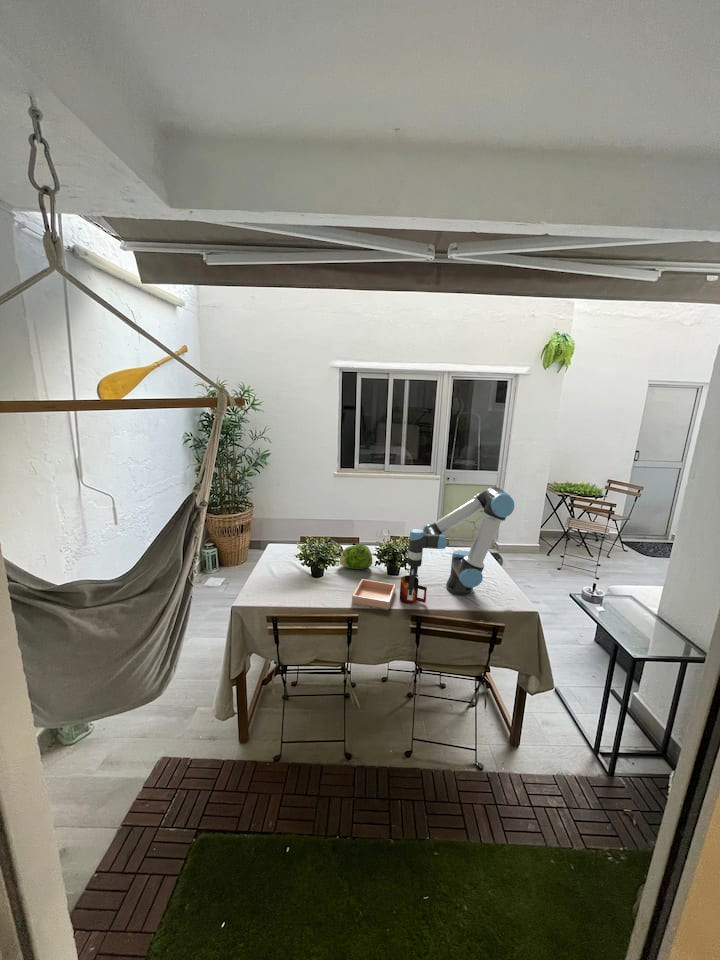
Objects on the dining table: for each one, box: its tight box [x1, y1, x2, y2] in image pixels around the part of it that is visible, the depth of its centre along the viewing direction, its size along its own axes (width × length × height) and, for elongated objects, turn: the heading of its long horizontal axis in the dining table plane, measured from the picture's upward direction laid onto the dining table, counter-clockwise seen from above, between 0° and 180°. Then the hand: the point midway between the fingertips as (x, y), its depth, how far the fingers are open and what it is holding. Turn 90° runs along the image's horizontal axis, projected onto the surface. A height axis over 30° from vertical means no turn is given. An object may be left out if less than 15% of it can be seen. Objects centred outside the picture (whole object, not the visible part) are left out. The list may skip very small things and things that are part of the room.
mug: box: [399, 574, 428, 605], centre depth 223 cm, size 10×14×12 cm
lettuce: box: [338, 544, 373, 570], centre depth 259 cm, size 16×21×15 cm
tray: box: [351, 578, 397, 611], centre depth 224 cm, size 20×20×5 cm
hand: (411, 593), depth 223 cm, fingers open, 13 cm apart
